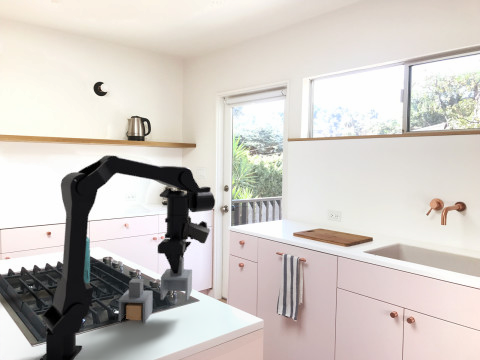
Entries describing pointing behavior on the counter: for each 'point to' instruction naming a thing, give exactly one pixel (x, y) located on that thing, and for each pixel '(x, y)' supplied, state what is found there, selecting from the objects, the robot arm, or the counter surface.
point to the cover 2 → (177, 281)
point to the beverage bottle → (87, 262)
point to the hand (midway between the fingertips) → (176, 271)
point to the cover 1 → (136, 299)
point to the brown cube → (134, 311)
